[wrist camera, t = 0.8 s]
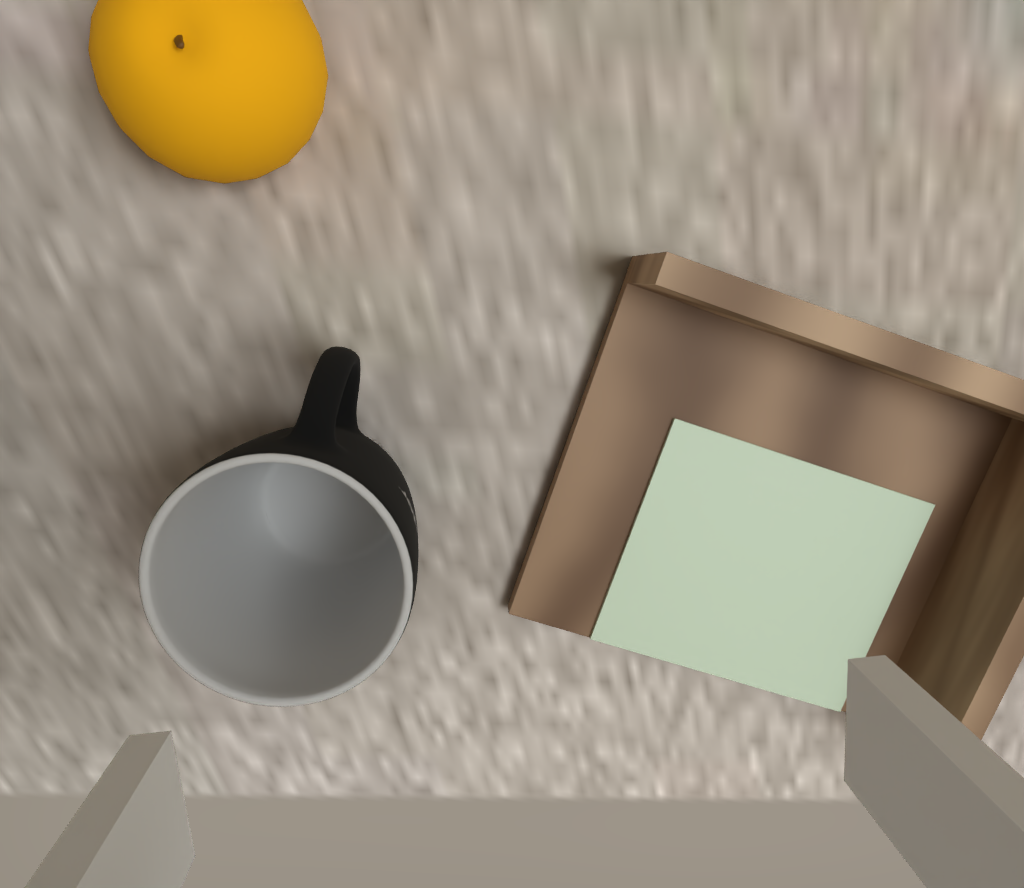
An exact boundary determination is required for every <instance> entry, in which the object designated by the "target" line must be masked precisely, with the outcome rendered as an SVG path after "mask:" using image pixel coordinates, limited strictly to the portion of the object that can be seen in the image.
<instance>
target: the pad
mask: <svg viewBox="0 0 1024 888" xmlns="http://www.w3.org/2000/svg"><path fill="white" fill-rule="evenodd" d="M934 507H935V505H934V504H932V503H929V502H926V501H923V500H920V499H917V498H914V497H911V496H908V495H905V494H902V493H899V492H896V491H893V490H890V489H887V488H884V487H881V486H878V485H875V484H872V483H869V482H866V481H863V480H860V479H857V478H854V477H851V476H848V475H845V474H842V473H839V472H836V471H833V470H830V469H827V468H824V467H821V466H818V465H815V464H812V463H809V462H806V461H803V460H800V459H797V458H794V457H791V456H788V455H785V454H781V453H778V452H775V451H772V450H769V449H766V448H763V447H760V446H757V445H754V444H751V443H748V442H745V441H742V440H739V439H736V438H733V437H730V436H727V435H724V434H721V433H718V432H715V431H712V430H709V429H706V428H703V427H700V426H697V425H694V424H691V423H688V422H685V421H682V420H679V419H676V418H673V421H672V424H671V426H670V429H669V431H668V434H667V437H666V439H665V442H664V445H663V447H662V450H661V452H660V455H659V458H658V460H657V463H656V465H655V468H654V471H653V473H652V476H651V478H650V481H649V484H648V486H647V489H646V492H645V494H644V497H643V499H642V502H641V505H640V507H639V510H638V512H637V515H636V518H635V520H634V523H633V525H632V528H631V531H630V533H629V536H628V539H627V541H626V544H625V546H624V549H623V552H622V554H621V557H620V559H619V562H618V565H617V567H616V570H615V573H614V575H613V578H612V580H611V583H610V586H609V588H608V591H607V593H606V596H605V599H604V601H603V604H602V606H601V609H600V612H599V614H598V617H597V620H596V622H595V625H594V627H593V630H592V633H591V635H590V639H591V640H595V641H598V642H602V643H605V644H608V645H612V646H615V647H619V648H622V649H626V650H629V651H632V652H636V653H639V654H643V655H646V656H650V657H653V658H657V659H660V660H663V661H667V662H670V663H674V664H677V665H681V666H684V667H687V668H691V669H694V670H698V671H701V672H705V673H708V674H711V675H715V676H718V677H722V678H725V679H729V680H732V681H735V682H739V683H742V684H746V685H749V686H753V687H756V688H759V689H763V690H766V691H770V692H773V693H777V694H780V695H784V696H787V697H790V698H794V699H797V700H801V701H804V702H808V703H811V704H814V705H818V706H821V707H825V708H828V709H832V710H835V711H838V712H840V711H841V709H842V707H843V705H844V702H845V700H846V698H847V671H848V659H853V658H862V657H866V655H867V652H868V650H869V648H870V646H871V644H872V642H873V639H874V637H875V635H876V633H877V631H878V629H879V626H880V624H881V622H882V620H883V618H884V615H885V613H886V611H887V609H888V607H889V605H890V602H891V600H892V598H893V596H894V594H895V592H896V589H897V587H898V585H899V583H900V581H901V579H902V576H903V574H904V572H905V570H906V568H907V565H908V563H909V561H910V559H911V557H912V555H913V552H914V550H915V548H916V546H917V544H918V542H919V539H920V537H921V535H922V533H923V531H924V529H925V526H926V524H927V522H928V520H929V518H930V515H931V513H932V511H933V509H934Z"/></svg>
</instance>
